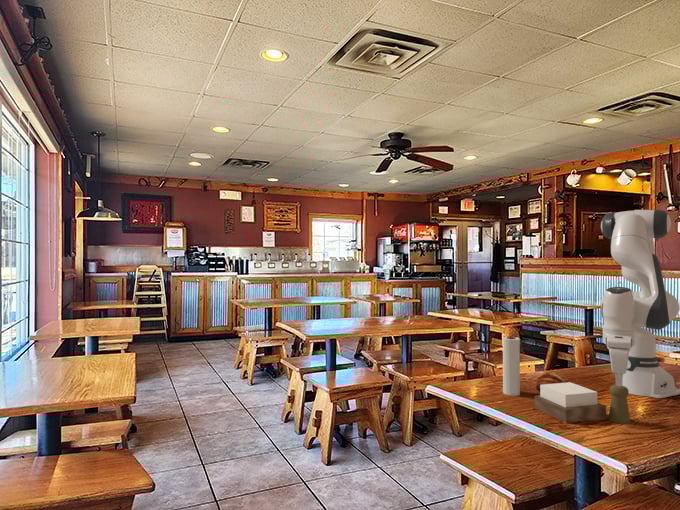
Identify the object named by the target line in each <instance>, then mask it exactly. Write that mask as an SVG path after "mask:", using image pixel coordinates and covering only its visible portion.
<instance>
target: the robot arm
mask: <svg viewBox="0 0 680 510" xmlns="http://www.w3.org/2000/svg"><path fill="white" fill-rule="evenodd" d="M671 226H672V219H671V217H670V215H669V214H668V212H667V211H666V210H662V209H653V210H652V209H634V210H626V211H619V212H618V211H617V212H616V211H612V212H609V213H606V214H605V215H604V216H603V217H602V219H601V222H600V229H601V233H602V235H603V237H604V238H606V239H609V240H610V254H611V258H612V259H613V260H614V261H615V263H617V264H618V265H620V266H621V275H622V277H623V278H624V279H625V280H626V281H628V282H630V283H633V284H635V285H637V286H638V288H639V289H640V291H639V290H638V291H633V290H632V289H631V288H629V287H625V286H613V287H611V286H610V287H608V288H606V289H605V291H604V293H603V296H602V298H601V300H600V309H601V318H602V319H603V325H602V343H603V344H605V345H606V347H607V349H608V351H609V360H610V366H611V367H610V368H611V372H612V373H614V376H615V385H616V386H625V387H627V389H628V391H629V394H630V395H635V396H641V397H650V398H656V399H662V398H663V399H664V398H668V397H672V396H677V395H680V388H678V387H676V385H675V378H674V377H673V375H672V374H670V373H669V372H668V371H666V370H665V369H664V368H663V367H661V364H664V363H665V362H666V359H665V357H661V356H657V347H656V346H657V345H656V341H657V339H656V337H655V335H654V334H653V333H652V332H650V331H649V330H656V331H657V330H658V331H660V330H662V329H665V328H666V327H668V326H669V325H670V324H671V321H672V320H674V319H675V318H676V317H677V315H678V314H679V312H680V303H679V300H678V299H677V298H676V297H675V296H674V295H673V294H672V293H670V292H668V291H667V290H666V286H665V282H664V276H663V271H662V267H661V263H660V259H659V258H658V255H656V249H655V241H656V242H658V241H659V239H662V238H665V237H666V236H667V235H668V234H669V231H670V230H671ZM654 239H655V241H654ZM645 328H646V329H645ZM647 329H649V330H647ZM660 363H661V364H660ZM629 394H628V395H629Z"/></svg>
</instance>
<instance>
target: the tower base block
mask: <svg viewBox="0 0 680 510" xmlns="http://www.w3.org/2000/svg"><path fill="white" fill-rule="evenodd" d="M533 402H534V408H535V409H536V410H539V411H542V412H544V413H546V414H548V415H549V416H551V417H553V418H556V419H558V420H559V421H562V422H564V423H578V422H577V421H581V422H590V421H591V422H592V421H602V420H603V421H606V420H607V405H605V404H602V403H601V402H598V405H588V406H577V407H567V408H565V407H563V406H561V405H559V404H556V403H554V402H552V401H550V400H547V399H545V398H543V397H540V394H538V395H534V401H533Z"/></svg>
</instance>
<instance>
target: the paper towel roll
mask: <svg viewBox="0 0 680 510" xmlns="http://www.w3.org/2000/svg"><path fill="white" fill-rule="evenodd" d="M520 341H521V339H520V338H519V337H517V336H516V337H513V336H505V337H502V393H503V394H504V395H507V396H512V397H515V396H516V397H517V396H518V397H519V396H520V395H521V386H520V385H521V382H520V381H521V377H520V376H521V374H520V373H521V372H520V371H521V370H520V368H521V367H520V366H521V365H520V363H521V362H520V359H521V358H520V355H521V353H520V351H521V350H520V349H521V348H520V347H521V345H520V343H521V342H520Z"/></svg>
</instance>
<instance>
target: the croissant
mask: <svg viewBox="0 0 680 510" xmlns="http://www.w3.org/2000/svg"><path fill="white" fill-rule="evenodd" d="M535 382H536V383H535V384H536V386H535V389H536V391H537V392H539V393H540V385H542V384H555V383H566V382H565V380H564V378H563V377H561V376H560V375H558V374H556V373H553V372H544V373H541V374H539V375H538V376H537V377H536V380H535Z"/></svg>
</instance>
